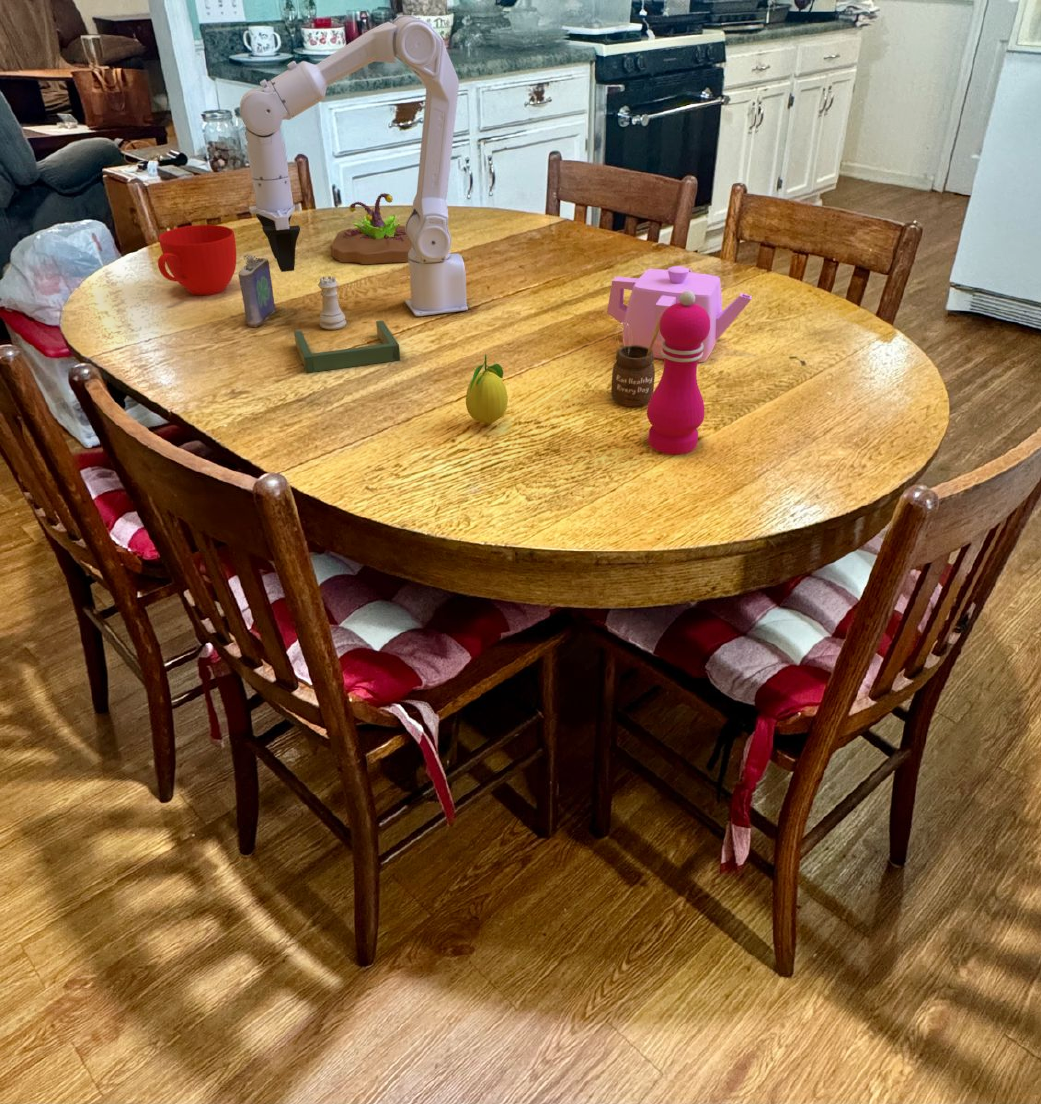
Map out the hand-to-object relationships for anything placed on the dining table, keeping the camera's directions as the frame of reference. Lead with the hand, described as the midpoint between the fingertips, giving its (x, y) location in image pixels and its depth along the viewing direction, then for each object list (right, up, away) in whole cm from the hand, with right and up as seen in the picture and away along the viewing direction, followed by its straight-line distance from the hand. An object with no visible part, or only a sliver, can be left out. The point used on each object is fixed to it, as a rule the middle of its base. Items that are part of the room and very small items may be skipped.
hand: (284, 263), depth 147 cm
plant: (+10, +15, +39) cm, 43 cm away
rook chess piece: (+7, -9, +4) cm, 12 cm away
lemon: (+34, -30, -27) cm, 53 cm away
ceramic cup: (-20, 0, +18) cm, 27 cm away
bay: (+11, -16, -6) cm, 20 cm away
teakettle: (+63, -14, -3) cm, 65 cm away
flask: (-6, -7, +7) cm, 12 cm away
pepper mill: (+58, -33, -31) cm, 74 cm away
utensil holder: (+55, -26, -20) cm, 64 cm away
